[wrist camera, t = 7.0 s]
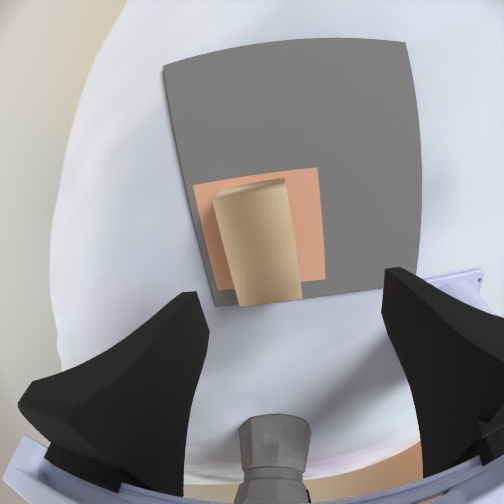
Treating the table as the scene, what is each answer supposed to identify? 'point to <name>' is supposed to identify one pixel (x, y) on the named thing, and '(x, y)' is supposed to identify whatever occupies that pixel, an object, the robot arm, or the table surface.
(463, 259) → the table surface
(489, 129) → the table surface
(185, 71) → the mat
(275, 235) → the card box
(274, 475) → the coffeepot
